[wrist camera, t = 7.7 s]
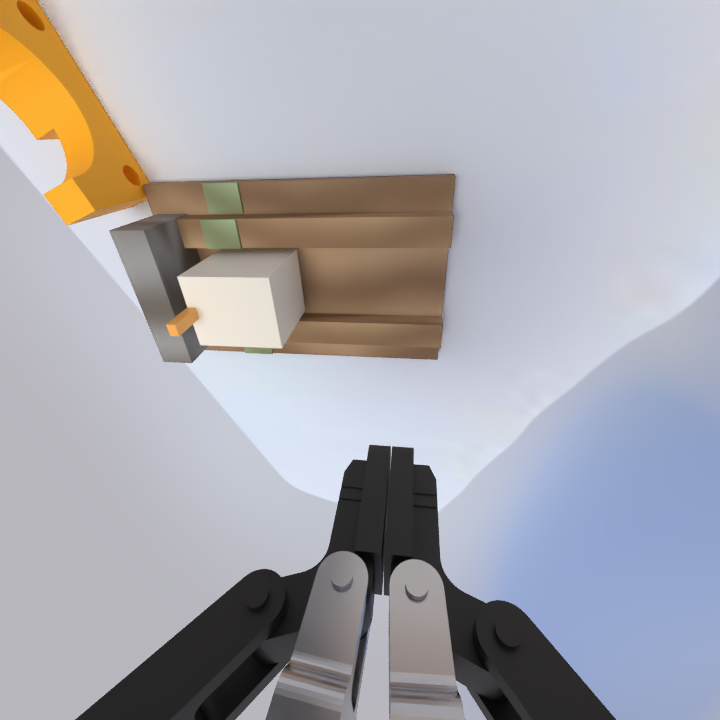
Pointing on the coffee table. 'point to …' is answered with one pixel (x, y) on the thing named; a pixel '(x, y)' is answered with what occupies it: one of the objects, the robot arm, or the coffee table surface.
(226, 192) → the gauge board
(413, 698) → the robot arm
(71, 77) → the pipe clamp
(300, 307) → the white cube with stick
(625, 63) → the coffee table surface
